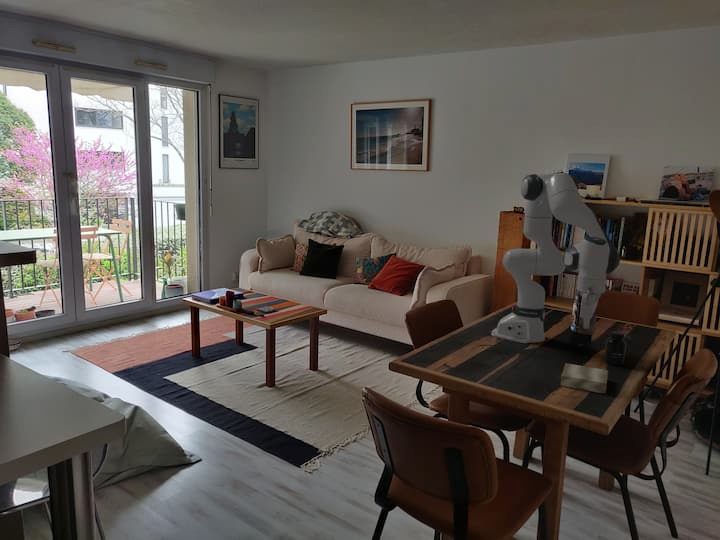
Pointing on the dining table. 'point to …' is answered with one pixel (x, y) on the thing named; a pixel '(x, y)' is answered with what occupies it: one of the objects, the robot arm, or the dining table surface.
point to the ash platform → (584, 378)
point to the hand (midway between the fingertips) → (587, 325)
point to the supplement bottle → (615, 349)
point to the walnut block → (591, 327)
